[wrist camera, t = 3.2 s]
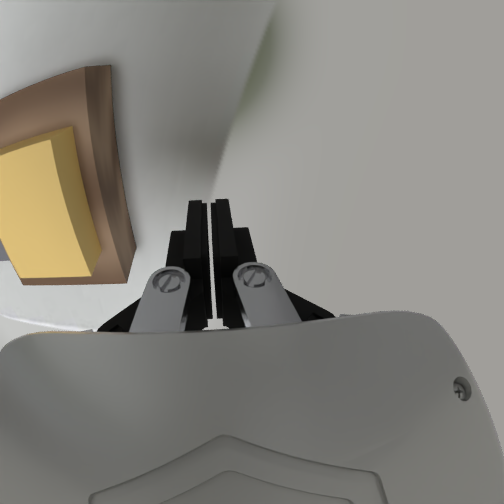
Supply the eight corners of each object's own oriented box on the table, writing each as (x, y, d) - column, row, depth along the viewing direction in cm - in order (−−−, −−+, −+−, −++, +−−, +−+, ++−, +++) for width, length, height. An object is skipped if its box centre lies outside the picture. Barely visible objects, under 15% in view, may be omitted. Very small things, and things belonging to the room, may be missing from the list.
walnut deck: (-2, 104, 10) (-35, 119, 7) (110, 65, 12) (84, 66, 9) (40, 254, 19) (23, 285, 16) (136, 247, 20) (126, 283, 17)
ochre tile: (-2, 149, 9) (-25, 166, 8) (72, 125, 10) (50, 139, 8) (33, 254, 14) (20, 278, 13) (101, 250, 15) (91, 276, 13)
